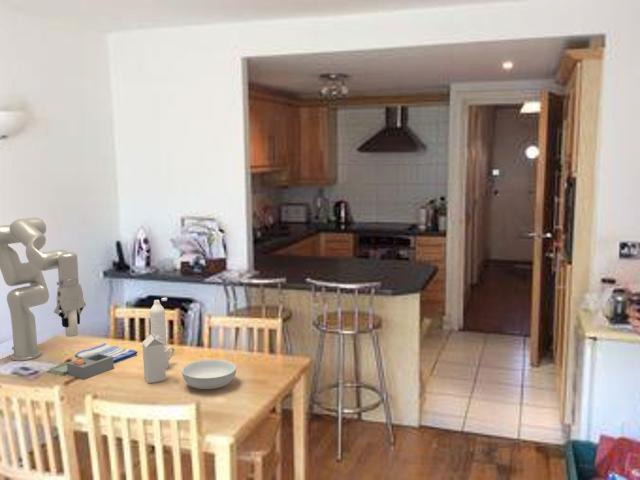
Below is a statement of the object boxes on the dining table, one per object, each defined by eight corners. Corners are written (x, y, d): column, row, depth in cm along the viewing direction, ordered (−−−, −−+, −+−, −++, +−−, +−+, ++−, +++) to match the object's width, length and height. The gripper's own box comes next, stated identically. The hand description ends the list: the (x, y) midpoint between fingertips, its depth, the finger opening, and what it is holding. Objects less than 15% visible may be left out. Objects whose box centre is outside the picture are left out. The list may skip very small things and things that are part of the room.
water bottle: (158, 357, 267) (155, 302, 264) (149, 354, 271) (146, 300, 268) (173, 352, 274) (171, 298, 271) (164, 349, 278) (161, 296, 275)
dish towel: (105, 347, 284) (105, 341, 284) (139, 355, 271) (139, 349, 271) (73, 358, 270) (72, 352, 269) (107, 367, 257) (107, 361, 257)
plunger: (74, 369, 246) (74, 360, 245) (81, 367, 248) (80, 358, 248) (79, 370, 244) (78, 361, 243) (85, 368, 247) (85, 359, 246)
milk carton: (148, 383, 236) (145, 337, 234) (144, 378, 243) (141, 332, 240) (166, 380, 240) (163, 334, 237) (162, 375, 246) (159, 330, 243)
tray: (50, 372, 251) (50, 368, 251) (69, 365, 258) (69, 361, 258) (63, 375, 246) (63, 372, 246) (82, 369, 254) (82, 365, 253)
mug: (150, 374, 247) (149, 355, 246) (139, 367, 255) (138, 349, 254) (180, 366, 255) (179, 348, 254) (169, 360, 263) (168, 342, 262)
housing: (67, 375, 247) (66, 363, 246) (98, 364, 260) (97, 353, 259) (83, 379, 242) (82, 367, 241) (113, 368, 254) (113, 356, 254)
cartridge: (63, 335, 250) (61, 305, 248) (73, 332, 254) (71, 303, 252) (70, 337, 247) (68, 307, 245) (80, 334, 251) (78, 304, 250)
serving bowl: (212, 399, 221) (211, 381, 220) (171, 388, 232) (170, 371, 231) (247, 381, 238) (247, 364, 237) (208, 371, 249) (207, 355, 248)
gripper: (56, 287, 238) (59, 332, 241) (92, 279, 253) (94, 321, 255) (44, 285, 242) (47, 328, 245) (80, 277, 256) (82, 318, 259)
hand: (71, 324), depth 250 cm, fingers closed on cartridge, 4 cm apart
